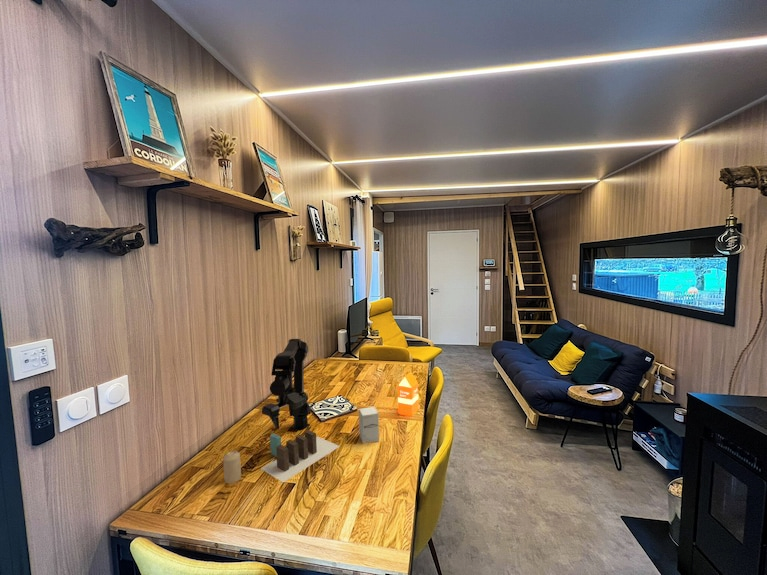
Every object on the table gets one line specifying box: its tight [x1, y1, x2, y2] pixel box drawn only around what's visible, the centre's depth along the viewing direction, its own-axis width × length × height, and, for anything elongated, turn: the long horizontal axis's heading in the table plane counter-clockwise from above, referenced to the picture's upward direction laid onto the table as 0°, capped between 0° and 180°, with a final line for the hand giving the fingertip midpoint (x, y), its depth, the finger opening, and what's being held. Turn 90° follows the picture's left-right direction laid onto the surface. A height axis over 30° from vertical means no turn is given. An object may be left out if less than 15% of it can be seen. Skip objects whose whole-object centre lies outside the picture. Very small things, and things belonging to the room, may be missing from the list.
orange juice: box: [397, 371, 420, 417], centre depth 166 cm, size 8×9×20 cm
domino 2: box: [276, 444, 289, 472], centre depth 121 cm, size 2×5×8 cm, turn 53°
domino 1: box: [269, 433, 282, 458], centre depth 130 cm, size 2×5×8 cm, turn 53°
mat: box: [260, 436, 341, 483], centre depth 128 cm, size 14×28×1 cm, turn 143°
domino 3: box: [285, 439, 299, 465], centre depth 125 cm, size 2×5×8 cm, turn 53°
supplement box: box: [358, 406, 380, 444], centre depth 141 cm, size 7×7×13 cm
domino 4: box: [295, 434, 308, 460], centre depth 128 cm, size 2×5×8 cm, turn 53°
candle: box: [222, 449, 242, 485], centre depth 116 cm, size 6×6×10 cm
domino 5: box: [304, 429, 317, 454], centre depth 132 cm, size 2×5×8 cm, turn 53°
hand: (286, 423), depth 131 cm, fingers open, 9 cm apart
